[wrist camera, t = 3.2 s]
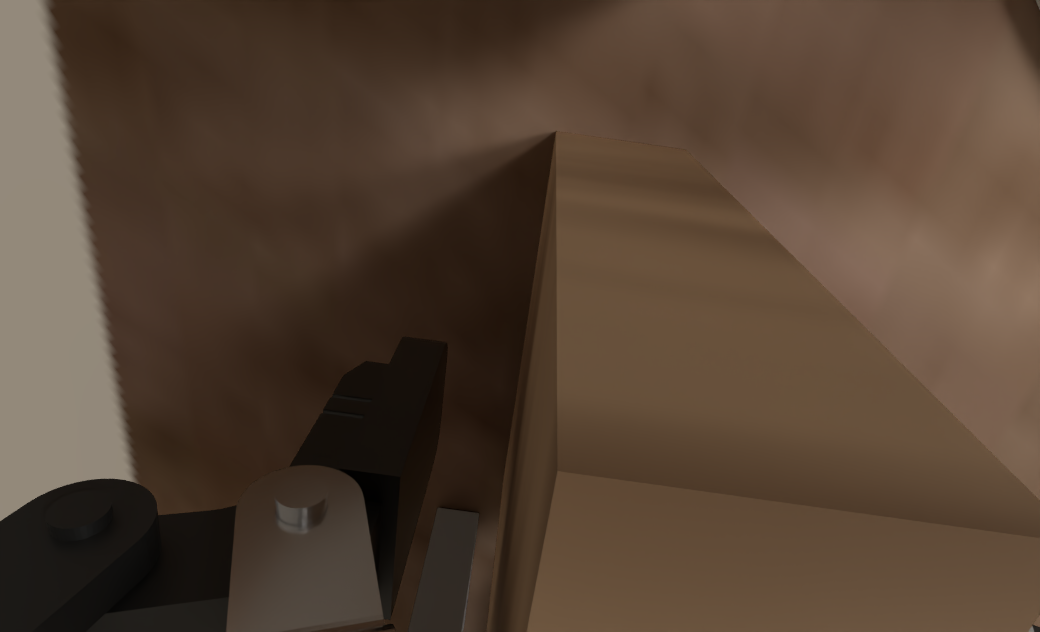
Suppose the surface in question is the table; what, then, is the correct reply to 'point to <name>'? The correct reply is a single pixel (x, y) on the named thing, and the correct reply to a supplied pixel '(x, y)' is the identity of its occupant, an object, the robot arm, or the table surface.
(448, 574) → the cabinet
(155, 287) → the table surface
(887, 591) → the door
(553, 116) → the table surface
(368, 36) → the table surface
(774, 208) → the table surface
